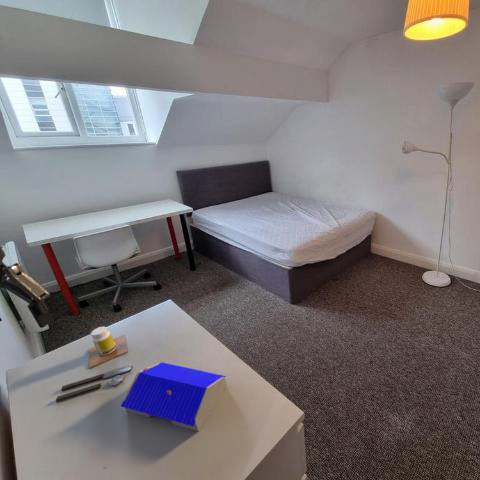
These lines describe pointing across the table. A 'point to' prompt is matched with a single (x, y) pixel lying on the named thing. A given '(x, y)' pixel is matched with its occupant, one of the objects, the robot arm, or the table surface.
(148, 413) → the roof
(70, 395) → the cutlery
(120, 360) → the table surface
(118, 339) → the cork coaster
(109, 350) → the supplement bottle
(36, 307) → the robot arm
